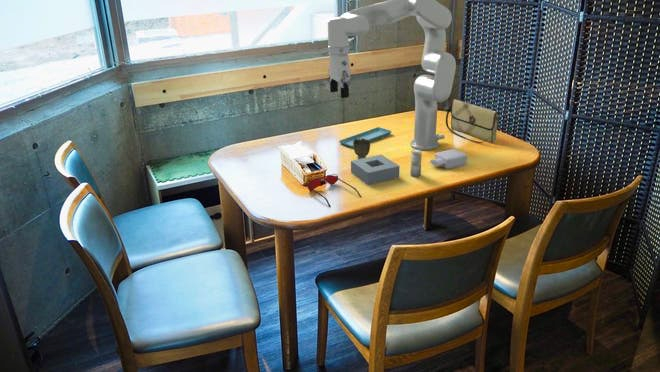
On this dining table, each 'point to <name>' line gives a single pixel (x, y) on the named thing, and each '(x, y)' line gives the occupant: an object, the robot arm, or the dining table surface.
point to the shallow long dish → (366, 136)
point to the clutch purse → (473, 121)
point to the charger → (449, 159)
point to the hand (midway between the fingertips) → (339, 94)
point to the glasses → (328, 179)
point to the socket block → (375, 169)
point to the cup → (361, 147)
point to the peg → (416, 163)
